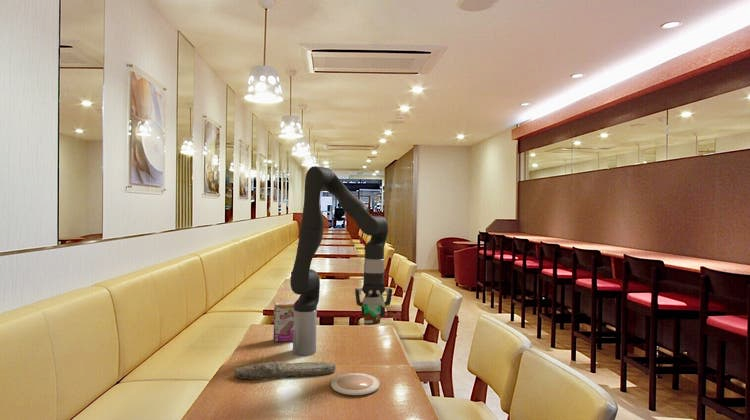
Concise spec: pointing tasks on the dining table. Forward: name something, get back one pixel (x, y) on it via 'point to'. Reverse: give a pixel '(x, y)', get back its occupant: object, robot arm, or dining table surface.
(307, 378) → the dining table surface
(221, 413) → the dining table surface
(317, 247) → the robot arm
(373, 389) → the dish
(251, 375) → the elongated rock
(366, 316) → the food container
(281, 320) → the candy bar box
